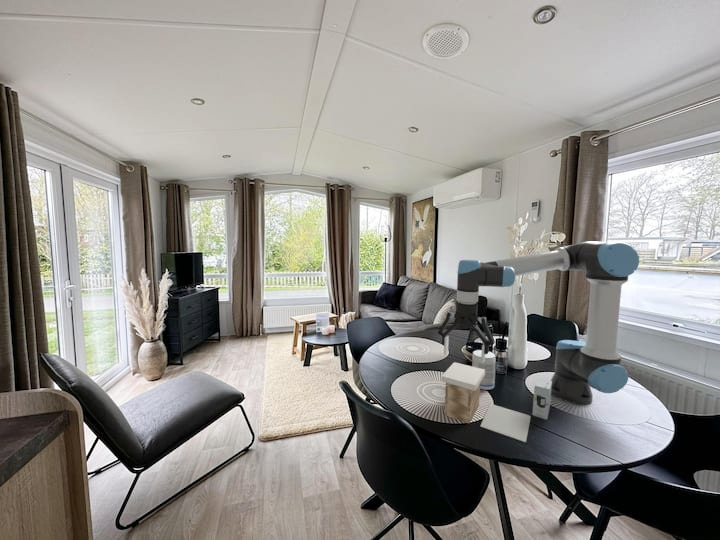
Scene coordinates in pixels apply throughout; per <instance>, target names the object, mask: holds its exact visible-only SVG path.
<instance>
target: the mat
mask: <svg viewBox="0 0 720 540" xmlns="http://www.w3.org/2000/svg"><path fill="white" fill-rule="evenodd" d="M531 417H532V416H531V415H529V414H527V413H526V414H525V413H523V412H519V411H516V410H512V409H508V408H507V407H503V406H499V405H497V404H494V403H493V404H492V403H490V404H489V406H488V408H487V410H486V412H485V415H484V417H483V419H482V421H481V424H480V428H483V429H486V430H489V431H491V432H494V433H497V434H500V435H502V436H506V437H508V438H511V439H514V440H517V441H520V442H523V443H525V444H526V443H527V439H528V438H527V437H528V434H529V428H530V423H531Z"/></svg>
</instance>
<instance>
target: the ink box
mask: <svg viewBox="0 0 720 540" xmlns="http://www.w3.org/2000/svg"><path fill="white" fill-rule="evenodd" d="M533 387H534V389H533V401H532V413H531V414H532V416H534V417H537V418H540V419H544V420H548V418H549V413H550V409H551V399H552V394H551V388H552V381H551V380H549V379H546V378H545V379H544V378H541V377H537V380H536V381H535V384H534V386H533Z"/></svg>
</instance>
